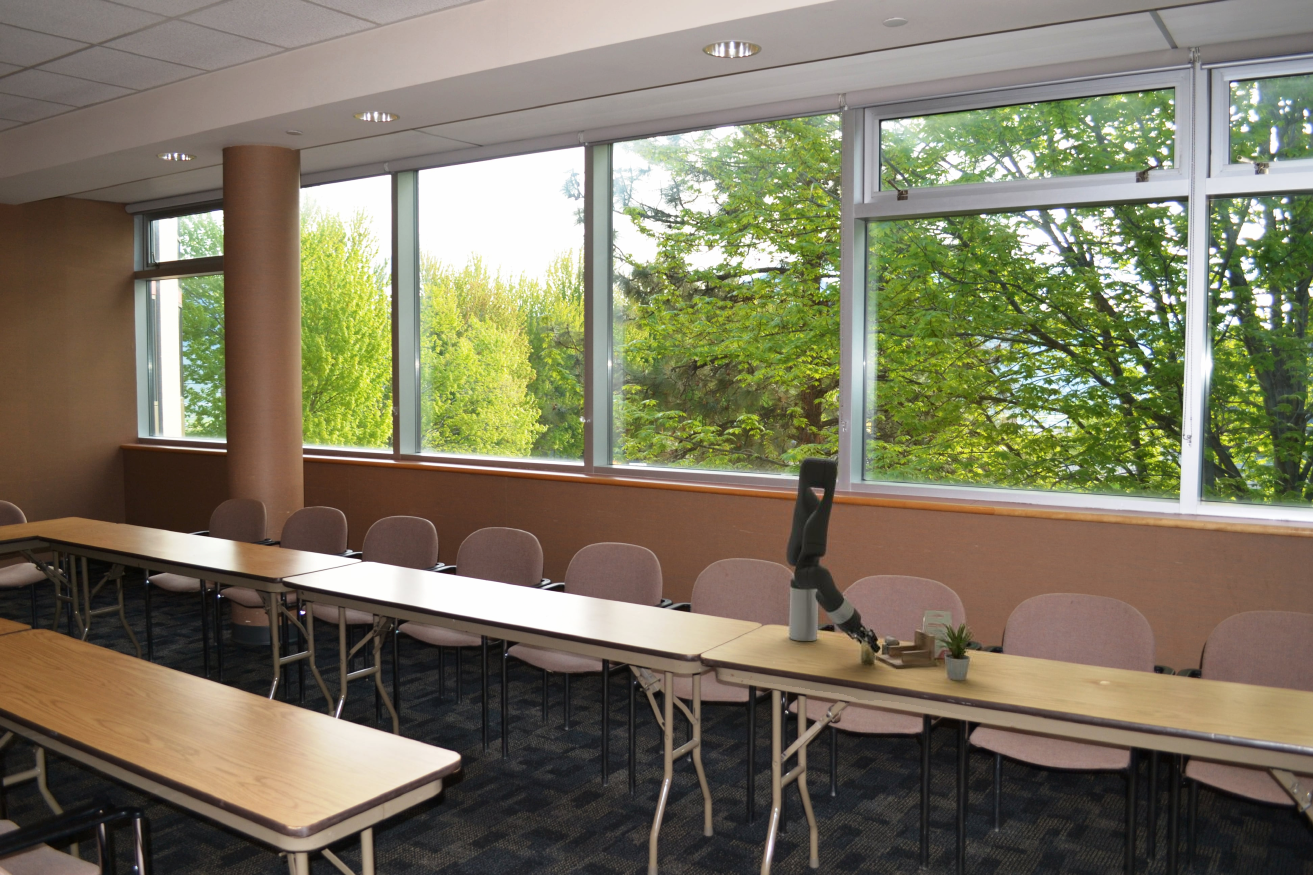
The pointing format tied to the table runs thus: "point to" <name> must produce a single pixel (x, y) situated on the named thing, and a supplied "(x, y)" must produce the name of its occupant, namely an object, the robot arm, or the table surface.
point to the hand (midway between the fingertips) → (872, 648)
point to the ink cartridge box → (935, 623)
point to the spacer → (867, 653)
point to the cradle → (909, 651)
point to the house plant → (956, 652)
